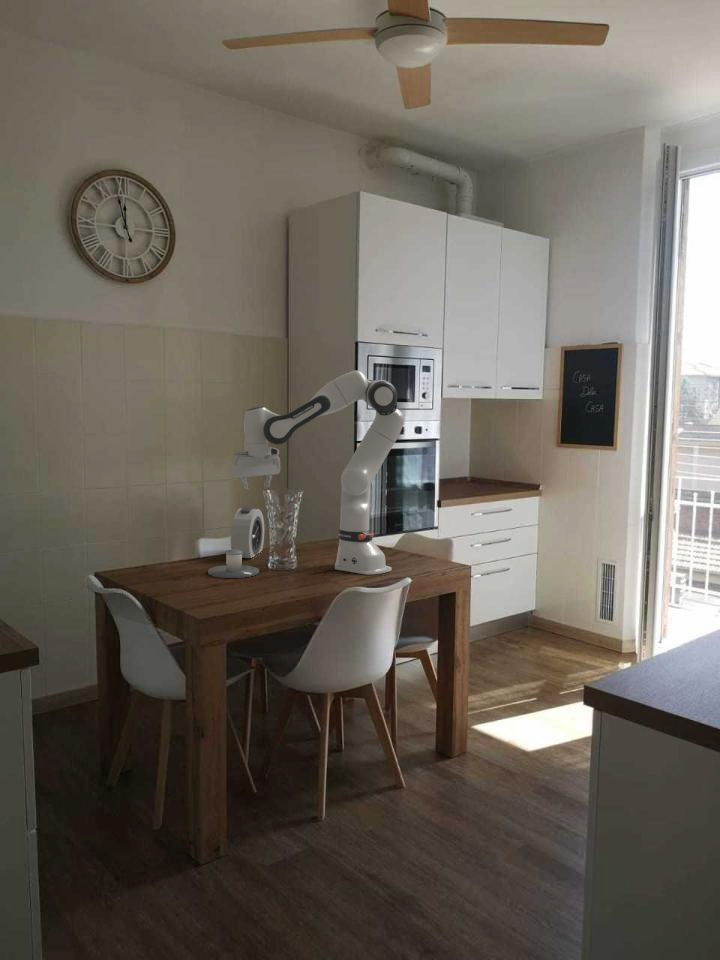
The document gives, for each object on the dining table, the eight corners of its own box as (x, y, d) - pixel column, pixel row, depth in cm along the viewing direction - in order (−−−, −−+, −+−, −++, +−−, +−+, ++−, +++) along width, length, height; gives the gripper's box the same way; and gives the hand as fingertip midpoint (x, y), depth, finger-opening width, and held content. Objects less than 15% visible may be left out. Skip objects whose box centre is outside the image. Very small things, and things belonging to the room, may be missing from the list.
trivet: (269, 573, 275) (269, 571, 275) (227, 581, 263) (227, 578, 263) (238, 565, 288) (238, 562, 288) (198, 572, 275) (198, 569, 275)
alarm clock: (248, 561, 296) (249, 510, 294) (230, 560, 297) (230, 509, 295) (264, 551, 317) (265, 503, 315) (246, 550, 318) (247, 502, 316)
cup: (245, 570, 275) (245, 551, 275) (232, 572, 271) (232, 553, 270) (235, 567, 279) (235, 548, 279) (222, 569, 275) (222, 550, 275)
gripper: (238, 452, 274) (239, 491, 275) (282, 449, 289) (283, 486, 290) (228, 452, 278) (229, 489, 280) (271, 449, 293) (272, 485, 294)
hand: (256, 488), depth 285 cm, fingers open, 8 cm apart
